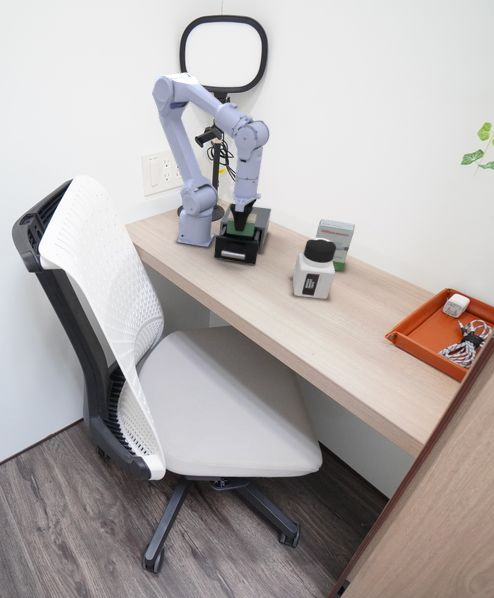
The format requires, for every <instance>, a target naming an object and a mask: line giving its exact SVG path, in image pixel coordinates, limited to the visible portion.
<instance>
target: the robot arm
mask: <svg viewBox="0 0 494 598" xmlns="http://www.w3.org/2000/svg"><path fill="white" fill-rule="evenodd" d="M151 95H152V97H153V100H154V103H155V105H156V108H157V113H158V119H159V123H160V125H161V128H162V130H163V133H164V136H165V138H166V141H167V143H168V145H169V148H170V150H171V153H172V156H173V158H174V161H175V164H176V165H177V168H178V171H179V174H180V176H181V179H182V182H183V185H182V186H181V188H180V192H179V194H180V197H181V204H182V208H183V209H181V210H180V213H179V217H178V239H177V243H179V244H186V245H193V246H199V247H205V248H209V247H210V244H211V242H212V241H213V239H214V238H215V234H214V233H212V222H213V211H214V209H215V208H214V207H215V206H216V205H217V204H218V203H219V193H218V190H217V189H216V188H215V187H214V186H213V183H212V182H211V179H209V178H208V177H206V176H205V175H203V174H202V171H201V168H200V166H199V163H198V161H197V158H196V155H195V152H194V150H193V147H192V144H191V142H190V139H189V136H188V134H187V131H186V128H185V125H184V123H183V120H182V117H183V113H184V111H185V110H186V108H187V107H188V105H189V104H190V103H192V104H193V105H195V106H196V107H198V109H200V110H202V111H204V112H205V113H207V114H208V115H209V116H212V118H213V119H214V121H213V122H214V125H215V126H216V127H217V128H218V129H220V130H221V131H222V132H223V133H225V135H228V137H230V138H231V139H232V140H233V141H234V145H235V147H236V151H237V152H236V156H237V159H236V166H235V167H236V169H235V177H234V187H233V192H232V198H233V201H234V202H233V203H230V204H231V205H230V204H229V205H230V210H231V212H232V214H233V218H234V226H235V231H241V232H243V230H244V228H245V225H246V221H247V218H248V216H249V214H250V213H251V211H252V210H253V207H254V205H255V203H256V201H257V200H260V199H261V197H262V194H261V193H258V186H259V178H260V173H261V165H262V160H263V150H264V146H266V144H267V143H268V141H269V139H270V129H269V127H268V125H267V124H266V123H265V122H264V120H262V119H257V120H254V119H253V116H252V115H247V114H245V112H243V111H242V110H240V109H239V108H238V106H239V105H238V104H237V103H236V102H232V103H231V102H225V103H222V102H221V101H220V100H218V98H217V97H215V96H214V95H213V94H212V93H210V91H208V90H207V89H206V88H205V87H204V86H203V85H201V84H200V83H199V81H198V79H197V78H196V77H194V76H192V75H191V74H190V73H188V72H182V73H176V74H167V75H166V74H161V75H159V76H158V77H156V79H155V81H154V83H153V88H152V93H151Z"/></svg>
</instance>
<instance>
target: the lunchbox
mask: <svg viewBox="0 0 494 598" xmlns="http://www.w3.org/2000/svg"><path fill="white" fill-rule="evenodd" d="M256 216H257V214H251V213H250V214H249V216H248V218H247V221H246V225H245V228H244V230H243V232H241V231H235V226H234V218H233V214H232V212H231V211H230V213H229V216H228V223H227V233H228V234H236V235H244V236H252V237H253V233H254V228H255V221H256Z"/></svg>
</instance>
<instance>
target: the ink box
mask: <svg viewBox="0 0 494 598" xmlns="http://www.w3.org/2000/svg"><path fill="white" fill-rule="evenodd" d="M316 230H317V231H316V235H315V238H324V239H327V240H330V241H332V242H333V243H334V244H335V245H336V251H335V254H334V257H333V261H332V262H333V266H334V269H335V271H338V272H339V271H340V272H342V271H343V269H344V265H345V261H346V258H347V255H348V252H349V250H350V246H351V243H352V239H353V237H354V232H355V224H354V223H348V222H343V221H337V220H330V219H324V218H321V219H320V220H319V222H318V226H317V229H316Z"/></svg>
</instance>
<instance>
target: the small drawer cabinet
mask: <svg viewBox="0 0 494 598" xmlns="http://www.w3.org/2000/svg"><path fill="white" fill-rule="evenodd" d="M231 204H232V203H230V204H229V205H228V207H227V208H226V210H225V212H224V214H223V216H222V218H221V220H220V223H219V234H218V236H220V234H221V232H222V230H223V228H224V226H225V225H227V223H228V216H229V213H230V211H231V210H230V205H231ZM252 207H253V210H252V211H251V214H257V216H256V221H255V228H254V229H260V230H261V235H260V241H259V247H258V253H257V254H262V252H263V249H264V245H265V242H266V238H267V234H268V229H269V224H270V220H271V219H270V218H271V212H272V208H267V207H259V206H252Z"/></svg>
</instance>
